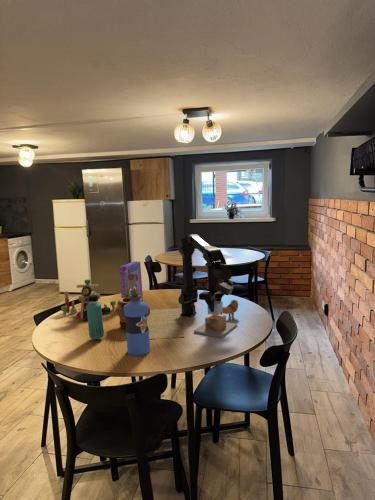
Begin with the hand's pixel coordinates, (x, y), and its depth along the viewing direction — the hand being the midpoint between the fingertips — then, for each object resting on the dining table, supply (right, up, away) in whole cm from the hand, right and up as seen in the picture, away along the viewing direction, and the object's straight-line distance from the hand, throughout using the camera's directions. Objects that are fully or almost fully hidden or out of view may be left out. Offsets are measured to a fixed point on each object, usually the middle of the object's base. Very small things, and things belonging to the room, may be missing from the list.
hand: (215, 310), depth 155 cm
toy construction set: (-69, -8, +33) cm, 77 cm away
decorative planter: (-38, -10, +9) cm, 41 cm away
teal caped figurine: (-53, -12, -4) cm, 54 cm away
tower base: (0, -9, +1) cm, 9 cm away
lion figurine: (+7, -7, +15) cm, 18 cm away
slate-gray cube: (0, -1, 0) cm, 1 cm away
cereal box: (-45, -5, +49) cm, 67 cm away
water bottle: (-32, -13, -18) cm, 39 cm away
